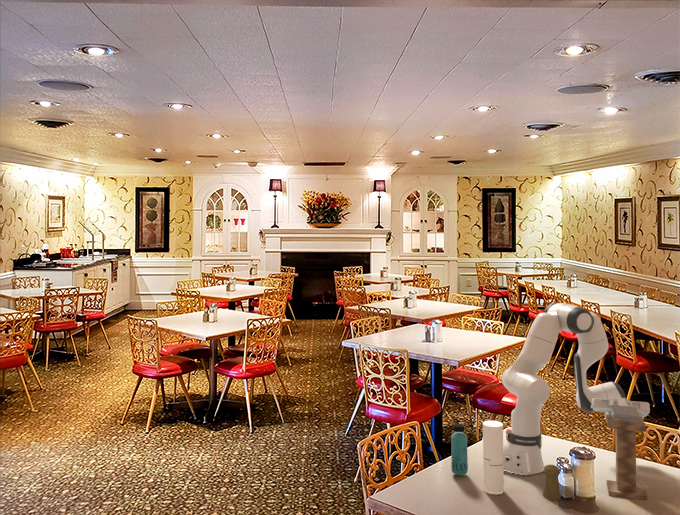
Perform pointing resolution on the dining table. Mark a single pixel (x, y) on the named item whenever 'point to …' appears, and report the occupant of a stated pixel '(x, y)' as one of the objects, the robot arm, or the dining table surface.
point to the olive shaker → (551, 483)
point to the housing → (624, 412)
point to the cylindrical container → (493, 456)
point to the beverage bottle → (459, 450)
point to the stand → (626, 460)
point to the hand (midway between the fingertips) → (621, 401)
